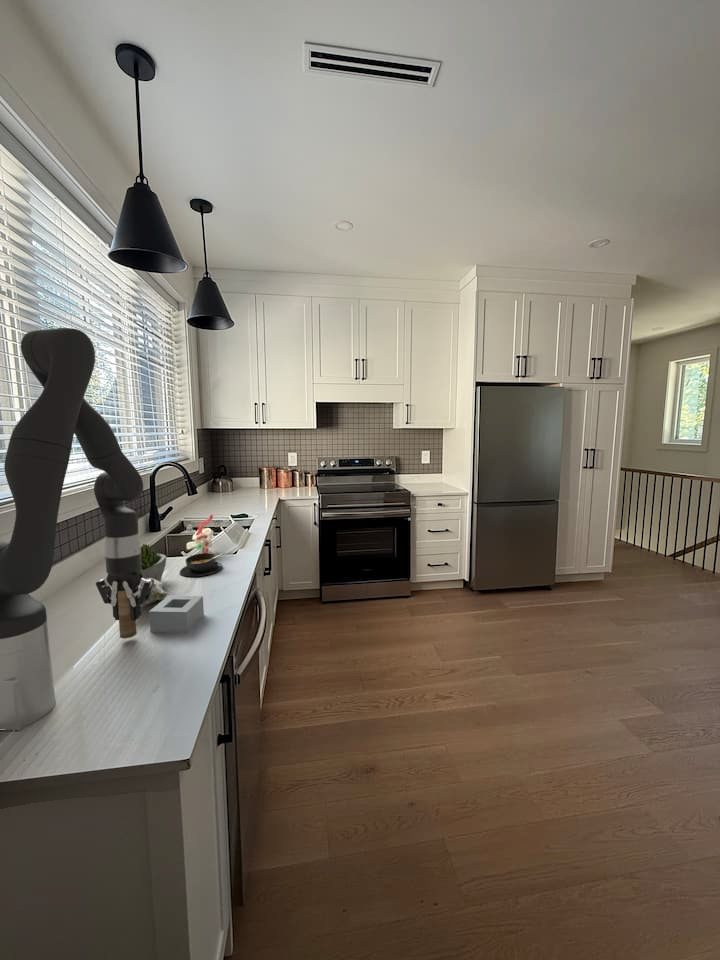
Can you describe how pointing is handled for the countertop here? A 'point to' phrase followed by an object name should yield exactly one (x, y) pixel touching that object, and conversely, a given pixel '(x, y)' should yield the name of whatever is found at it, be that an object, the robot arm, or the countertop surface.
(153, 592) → the rock
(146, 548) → the potted plant
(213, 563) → the soup bowl
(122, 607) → the peg
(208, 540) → the anatomical model
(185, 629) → the socket
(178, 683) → the countertop surface
